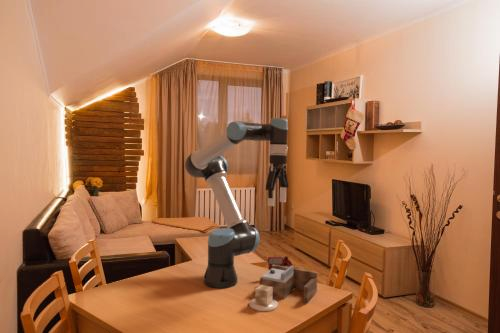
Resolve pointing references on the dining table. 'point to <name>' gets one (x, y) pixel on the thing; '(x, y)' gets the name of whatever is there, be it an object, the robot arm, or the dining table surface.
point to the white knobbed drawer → (279, 274)
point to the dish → (263, 308)
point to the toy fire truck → (279, 261)
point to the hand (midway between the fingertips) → (277, 203)
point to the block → (264, 295)
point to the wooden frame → (294, 283)
